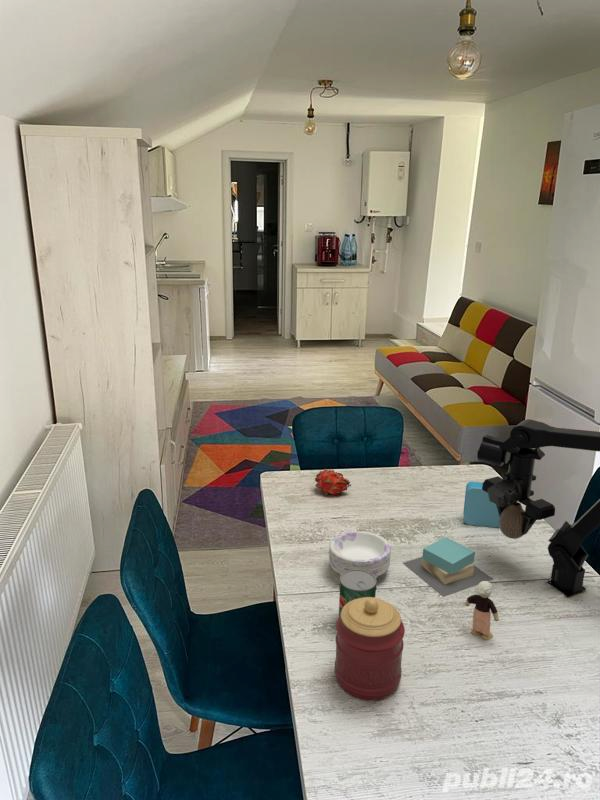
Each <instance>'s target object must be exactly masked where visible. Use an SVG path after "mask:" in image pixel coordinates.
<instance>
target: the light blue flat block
mask: <svg viewBox="0 0 600 800" xmlns="http://www.w3.org/2000/svg"><path fill="white" fill-rule="evenodd" d="M483 482H484V481H483ZM483 482H480V481H469V482H467V483H466V486H465V493H464V494H465V495H464V503H463V504H464V505H463V512H462V513H463V514H462V515H463V520H464V523H465V524H466V525H469V526H476V527H477V526H478V527H486V528H494V529H495V528H496V529H500V526H499V519H500V517H499V513H498V509H497V506H496V504H495V503H493V502H490V501H489V496H488V493H487V492H485V491H483V490H482V485H483Z"/></svg>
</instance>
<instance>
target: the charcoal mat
mask: <svg viewBox="0 0 600 800" xmlns="http://www.w3.org/2000/svg"><path fill="white" fill-rule="evenodd" d="M402 564H403V565H404V566H405V567H407V568H408V570H409V571H411V572H412V573H414V574H415V575H416V576H418V577H419V578H420V579H421V580H422V581H423V582H425V584H426V585H428V586H429V587H430V588H432V589H433V590H434V591H435V592H437V593H438V594H439V595H440V596H442V597H443V598H444V597H448V596H451V595H453V594H455V593H459V592H462V591H463V590H464V591H465V590H466V589H469V588H473V587H475V586H476V587H477V585H478V584H479V583H480V582H482V581H488V582H490V581H494V577H491V575H488V574H487V573H486V572H485V571H483V570H481V568H479V567H477V566H476V565H475V564H474V571H473V576H470V577H467V578H464V579H461V580H458V581H455V582H452V583H449V584H446V585H444V584H443V583H442V582H441V581H439V580H438V579H437V578H436V577H434V576H433V575H432V574H431V573H429V572H428V571H427V570H426V569H424V568H423V567H422V556H420V557H417V558H414V559H410V560H407V561H403V562H402Z"/></svg>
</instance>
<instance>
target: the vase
mask: <svg viewBox="0 0 600 800" xmlns="http://www.w3.org/2000/svg"><path fill="white" fill-rule="evenodd" d="M522 505H523V504H522V503H520V502H516V503H514V504H513V505H509V506H508V507H507V508H505V509H504V510H503V511H502V513H501V515H500V519H499V526H500V528H499V529H500V531H501V533H502V534H503V535H504V536H505V537H506V538H509V539H513V540H517V539H520V538H522V537H523V536H524V535H523V534H522V526H523V516H522V514H521V512H524V511H525V509H524V508H523V506H522Z"/></svg>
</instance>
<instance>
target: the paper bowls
mask: <svg viewBox="0 0 600 800" xmlns="http://www.w3.org/2000/svg"><path fill="white" fill-rule="evenodd" d="M328 545H329V546H328V547H329V549H328V563H329V565H330V567H331V568H332V570H334V572H336V573H338V574H339V575H340V576H341V575H342V574H343V573H344V572H346V571H348V570H353V569H359V570H365V571H368V572H370V573H371V574H373V575H374V576H375V578H376V579H378V577H379V576H382V575H383V574H385V573H386V572H387V571H388V569H389V568H390V564H391V551H392V549H391V545H390V543H389V542H388V541H387V540H386V539H385V538H384V537H382V536H381V535H379V534H376V533H373V532H369V531H362V530H361V531H359V530H357V531H355V530H354V531H347V532H343V533H340V534H338V535H336V536H334V537H333V538H332V539H331V540H330V542H329V544H328Z"/></svg>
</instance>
